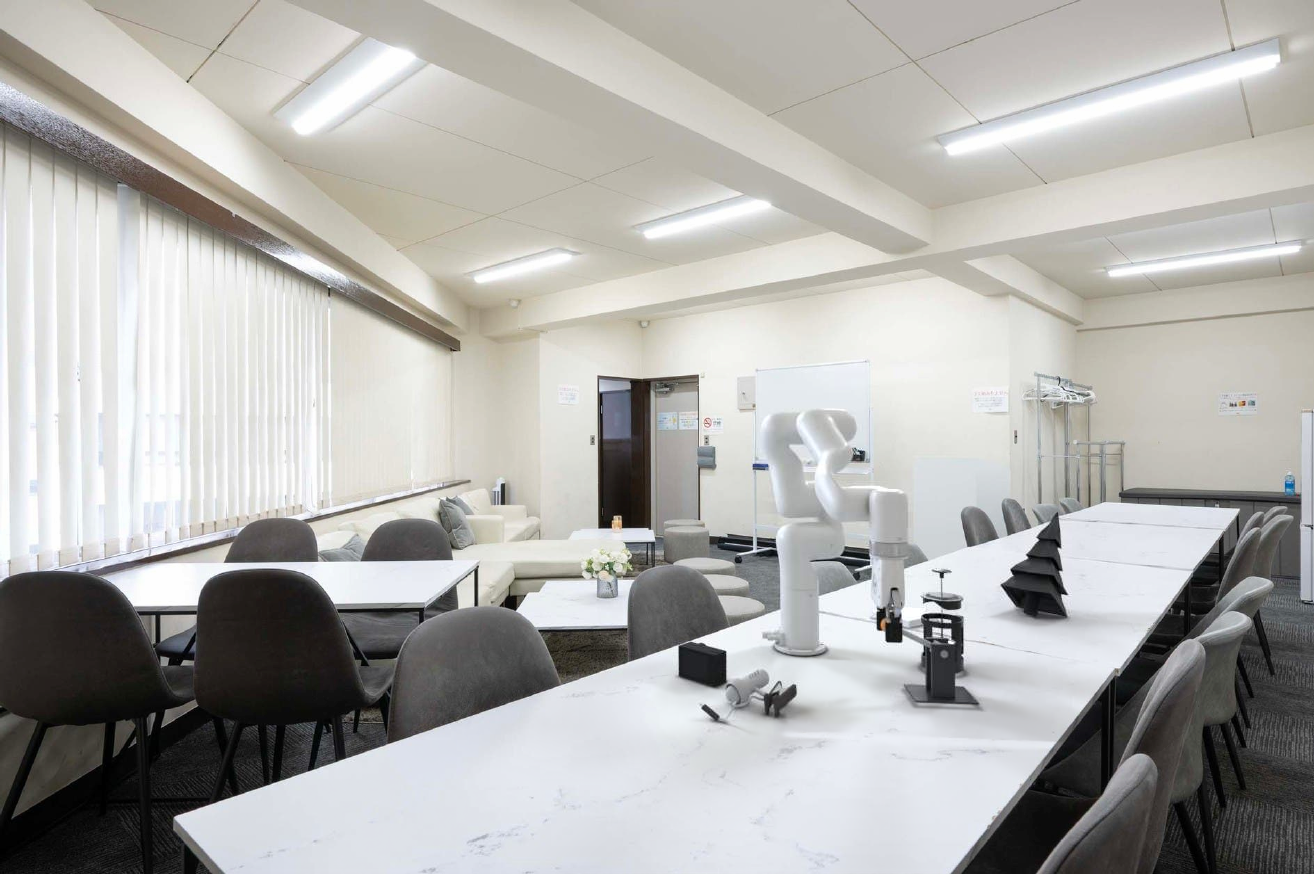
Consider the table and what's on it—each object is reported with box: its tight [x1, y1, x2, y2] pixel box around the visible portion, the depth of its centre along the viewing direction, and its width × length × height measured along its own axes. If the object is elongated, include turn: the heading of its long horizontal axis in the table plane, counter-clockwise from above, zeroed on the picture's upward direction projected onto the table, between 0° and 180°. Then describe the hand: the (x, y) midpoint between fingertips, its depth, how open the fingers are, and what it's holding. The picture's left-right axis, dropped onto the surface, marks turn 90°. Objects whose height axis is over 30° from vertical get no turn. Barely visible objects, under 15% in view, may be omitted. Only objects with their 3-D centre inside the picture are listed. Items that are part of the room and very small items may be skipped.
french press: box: [920, 568, 965, 674], centre depth 155 cm, size 12×9×23 cm
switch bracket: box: [903, 636, 980, 706], centre depth 138 cm, size 12×9×12 cm
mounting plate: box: [871, 605, 939, 629], centre depth 199 cm, size 18×13×2 cm
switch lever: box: [881, 618, 940, 651], centre depth 139 cm, size 14×3×3 cm, turn 84°
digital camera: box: [677, 641, 728, 688], centre depth 150 cm, size 10×5×7 cm, turn 47°
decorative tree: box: [999, 511, 1069, 618], centre depth 207 cm, size 15×15×35 cm
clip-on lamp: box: [698, 668, 798, 722], centre depth 132 cm, size 12×6×18 cm
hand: (889, 635), depth 139 cm, fingers open, 7 cm apart
